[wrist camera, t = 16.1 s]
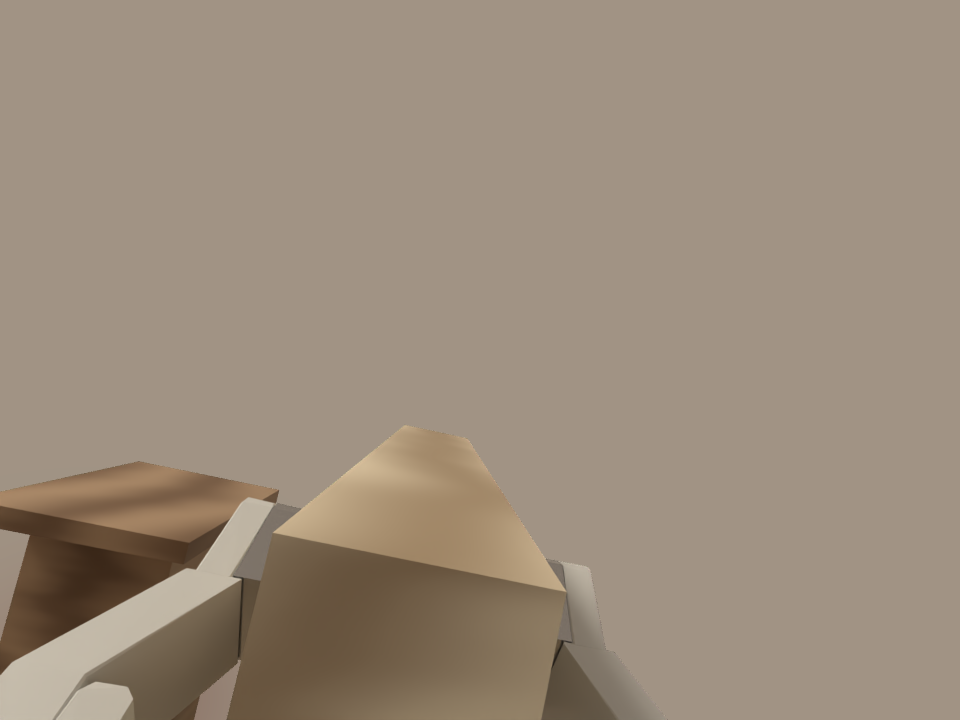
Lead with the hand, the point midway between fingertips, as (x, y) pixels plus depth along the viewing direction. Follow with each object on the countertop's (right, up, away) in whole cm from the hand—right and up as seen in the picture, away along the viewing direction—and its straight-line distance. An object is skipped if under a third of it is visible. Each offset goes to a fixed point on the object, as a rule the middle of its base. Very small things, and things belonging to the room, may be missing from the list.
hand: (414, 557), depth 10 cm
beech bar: (-1, -3, +5) cm, 6 cm away
